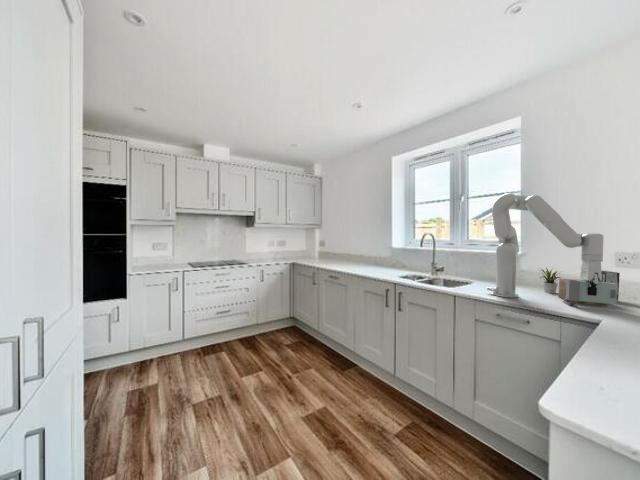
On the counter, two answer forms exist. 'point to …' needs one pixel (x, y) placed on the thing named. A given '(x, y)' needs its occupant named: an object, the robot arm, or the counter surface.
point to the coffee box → (611, 279)
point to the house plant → (549, 281)
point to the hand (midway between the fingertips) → (590, 294)
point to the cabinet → (570, 303)
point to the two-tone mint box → (580, 293)
